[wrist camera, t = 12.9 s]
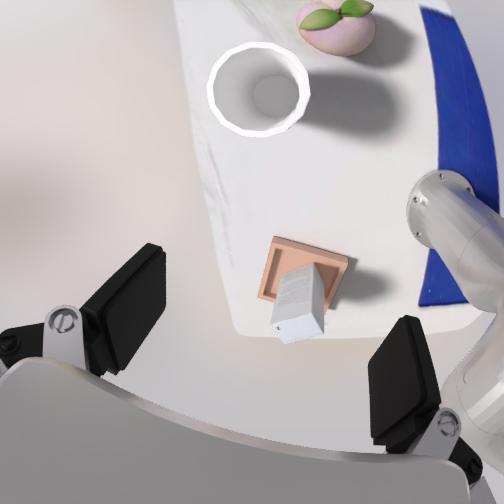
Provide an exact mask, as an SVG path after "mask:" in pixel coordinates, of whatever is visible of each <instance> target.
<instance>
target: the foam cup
mask: <svg viewBox="0 0 504 504" xmlns="http://www.w3.org/2000/svg"><path fill="white" fill-rule="evenodd" d="M206 87H207V94H208V100H209V107H210V108H211V110H212V111H213V113H214V114H215V116H216V117H217V118H218V120H219V121H220V123H221V124H222V125H223V126H225V127H227V128H229V129H230V130H232V131H234V132H236V133H237V134H239V135H241V136H250V137H259V138H265V137H268V136H271V135H274V134H277V133H281V132H284V131H286V130H288V129H289V128H290V127H291V126H292V125H293V124H295V123H296V122H297V121H298V120H299V119H300V118H301V117H302V116H303V115H304V113H305V110H306V108H307V105H308V102H309V100H310V97H311V93H310V86H309V79H308V73H307V71H306V69H305V68H304V67H303V65H302V64H301V63H300V61H299V60H298V59H297V57H296V56H295V55H294V54H293V53H292V52H290V51H288V50H286V49H284V48H282V47H280V46H278V45H276V44H274V43H264V42H248V43H245V44H243V45H240V46H238V47H235V48H233V49H230V50H228V51H227V52H226V53H225V54H224V55H223V56H222V57H221V58H220V59H219V60H218V61H217V63H216V64H215V65H214V66H213V68H212V71H211V74H210V77H209V80H208V83H207V86H206Z"/></svg>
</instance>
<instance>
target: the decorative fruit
mask: <svg viewBox="0 0 504 504" xmlns="http://www.w3.org/2000/svg"><path fill="white" fill-rule="evenodd" d="M373 7H374V5H373V4H371V3H369V2H367V1H364V0H321V1H320V2H315V3H311V4H308V5H306V6H304V7H303V8H302V9H301V10H300V12H299V13H298V16H297V27H298V30H299V32H300V34H301V36H302V37H303V38H304V39H305V40H306V41H307V42H308V43H309V44H311V45H312V46H314V47H315V48H317V49H319V50H320V51H323V52H325V53H327V54H331V55H335V56H350V55H354V54H357V53H359V52H361V51H363V50H364V49H365V48H367V47H368V46H369V44H370V43H371V42H372V40H373V38H374V36H375V32H376V25H375V21H374V18H373V16H372V14H371V13H370V12H371V11H372V9H373Z"/></svg>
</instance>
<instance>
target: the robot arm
mask: <svg viewBox="0 0 504 504" xmlns="http://www.w3.org/2000/svg"><path fill="white" fill-rule="evenodd" d="M440 174H441V176H439V175H440ZM414 197H415V199H414ZM407 221H408V224H409V228H410V230H411V232H412V234H413V235H414V237H415V238H416V239H417V240H418V241H419V242H420V243H421V244H423V245H424V246H426V247H429V248H431V249H435V250H436V251H437V253H438V254H439V256H440V257H441V259H442V260H443V262H444V263H445V265H446V266H447V268H448V269H449V271H450V273H451V274H452V276H453V278H454V279H455V281H456V282H457V284H458V286H459V288H460V289H461V291H462V292H463V294H464V296H465V297H466V299H467V300H468V301H469V302H470V303H471V304H472V305H473V306H474V307H476V308H477V309H479V310H482V311H485V312H492V313H497V314H496V316H495V318H494V320H493V321H492V323H491V324H490V326H489V327H488V328H487V330H486V332H485V333H484V335H483V336H482V337H481V338H480V340H479V341H478V342H477V343H476V345H475V346H474V347H473V348H472V349H471V351H470V352H469V353H468V354H467V355H466V357H465V358H464V359H463V360H462V361H461V362H460V364H458V366H457V367H456V368H455V369H454V370H453V371H452V373H451V374H450V375H449V376H448V378H447V379H446V381H445V383H444V385H443V387H442V389H441V392H440V391H439V387H438V383H437V378H436V374H435V370H434V367H433V363H432V359H431V355H430V352H429V349H428V345H427V342H426V338H425V335H424V332H423V329H422V326H421V323H420V320H419V318H417V317H413V316H409V315H405V316H403V318H399V319H398V321H397V322H396V324H395V325H394V327H393V328H392V330H391V331H390V333H389V334H388V336H387V337H386V338H385V340H384V341H383V343H382V344H381V345H380V347H379V348H378V350H377V351H376V352H375V354H374V355H373V356H372V358H371V359H370V361H369V364H368V376H369V394H370V425H371V426H370V427H371V437H372V438H373V444H374V445H386V451H385V452H384V453H383V454H375V453H356V452H344V451H333V450H325V449H317V448H309V447H304V446H297V445H292V444H286V443H281V442H276V441H271V440H267V439H262V438H258V437H254V436H250V435H246V434H242V433H238V432H234V431H231V430H228V429H224V428H221V427H218V426H214V425H211V424H208V423H205V422H202V421H199V420H196V419H193V418H191V417H188V416H185V415H182V414H180V413H177V412H174V411H172V410H169V409H167V408H164V407H162V406H160V405H157V404H155V403H153V402H150V401H148V400H145V399H143V398H141V397H139V396H136V395H135V394H132V393H130V392H128V391H126V390H124V389H122V388H120V387H118V386H116V385H114V384H112V383H110V382H108V381H106V380H104V379H103V375H104V374H105V372H106V371H108V372H110V373H112V374H114V375H117V374H118V372H119V371H120V370H122V371H123V370H124V369H125V368H126V367H127V365H128V364H129V362H130V360H131V359H132V358H133V356H134V354H135V353H136V351H137V350H138V349H139V347H140V346H141V344H142V343H143V341H144V339H145V338H146V337H147V335H148V334H149V332H150V331H151V329H152V328H153V326H154V325H155V323H156V321H157V320H158V319H159V317H160V316H161V315H162V313H163V311H164V310H165V307H166V253H165V252H164V251H163V249H162V247H161V246H157V245H154V244H151V243H147V244H146V245H145V246H143V247H142V248H141V249H140V250H139V251H138V252H137V253H136V254H135V255H134V256H133V257H132V258H130V259H129V260H128V261H127V262H126V263H125V264H124V265H123V266H122V267H121V268H120V269H119V270H118V271H117V272H116V273H115V274H113V276H112V277H110V278H109V279H108V280H107V281H106V282H105V283H104V284H103V285H102V286H101V288H99V289H98V290H97V291H96V292H95V294H94V295H92V297H91V298H90V299H89V300H88V301H87V302H86V303H85V304H84V305H83V306H82V307H81V308H80V309H79V310H78V309H77V308H75V307H74V306H70V305H62V306H58V307H56V308H54V309H52V310H51V311H50V312H49V313H48V315H47V316H46V318H45V322H44V323H39V324H33V325H27V326H21V327H16V328H10V329H7V330H5V331H3V332H2V333H1V334H0V504H496V501H495V499H494V497H493V495H492V492H491V490H490V488H489V486H488V484H487V482H486V480H485V477H484V476H482V477H481V474H482V470H483V465H482V461H481V459H482V460H483V461H484V462H486V463H487V464H489V465H490V466H491V467H493V468H494V469H495V470H496V471H498V472H499V473H501V474H502V475H503V476H504V218H502V217H501V216H500V215H499V214H497V213H496V212H495V211H494V210H492V209H491V208H490V207H488V206H487V205H486V204H484V203H483V202H482V201H480V200H479V199H478V198H476V197H475V194H474V191H473V188H472V187H471V185H470V183H469V182H468V181H467V180H466V179H465V178H464V177H463V176H462V175H460V174H459V173H457V172H455V171H452V170H448V169H439V170H435V171H432V172H430V173H428V174H426V175H425V176H424V177H422V178H421V179H420V180H419V181H418V182H417V184H416V185H415V187H414V188H413V190H412V192H411V194H410V196H409V200H408V204H407ZM417 232H418V233H417Z"/></svg>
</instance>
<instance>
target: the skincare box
mask: <svg viewBox="0 0 504 504" xmlns="http://www.w3.org/2000/svg"><path fill="white" fill-rule="evenodd" d="M270 326H271V327H272V328H273V330H274V331H275V332H276V334H277V335H278V337H279V338H280V339H281V341H282V342H283V343H284V344H288V343H292V342H296V341H299V340H303V339H307V338H310V337H314V336H317V335H320V334H324V281H323V279H322V277H321V275H320V273H319V271H318V269H317V267H316V265H315V263H314V262H313V263H310V264H308V265H305V266H303V267H300V268H297V269H295V270H292V271H290V272H287V273H284V274H282V275H281V278H280V283H279V287H278V292H277V296H276V301H275V305H274V310H273V314H272V318H271V323H270Z"/></svg>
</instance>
